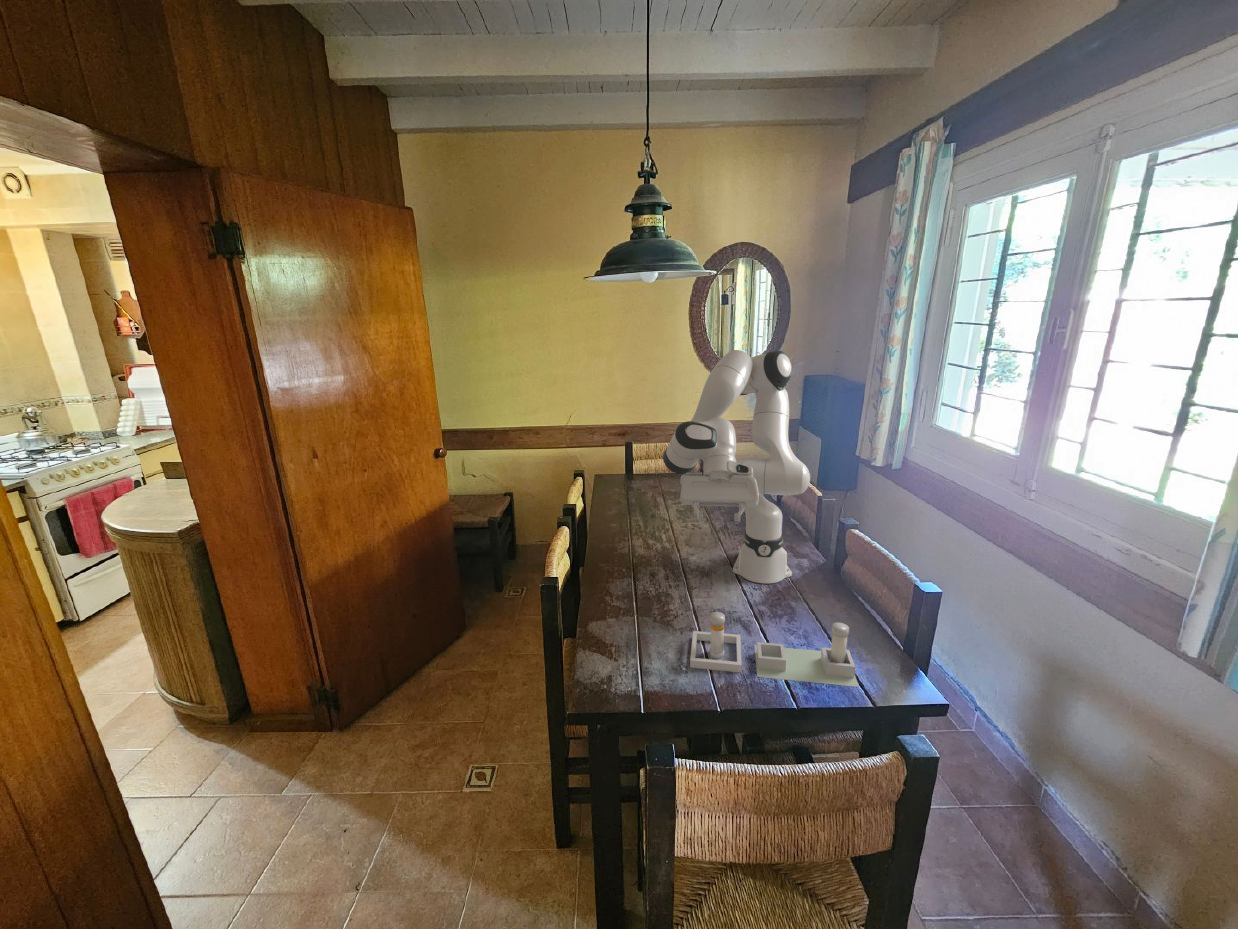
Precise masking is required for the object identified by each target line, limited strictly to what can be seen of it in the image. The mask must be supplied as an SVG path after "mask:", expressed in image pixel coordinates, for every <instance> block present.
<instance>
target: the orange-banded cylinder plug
mask: <svg viewBox="0 0 1238 929" xmlns="http://www.w3.org/2000/svg"><path fill="white" fill-rule="evenodd" d="M709 623H710V632H711V642H710V647H709V656H710V657H711V658H712V659H714V660H721V659H723V658H724V657H725V650H726V649H725V647H724V646H725V645H724V644H725V643H724V633H725V623H726V615H725V614H724V613H723V612H720V611H713V612H711V613H710V614H709Z"/></svg>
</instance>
